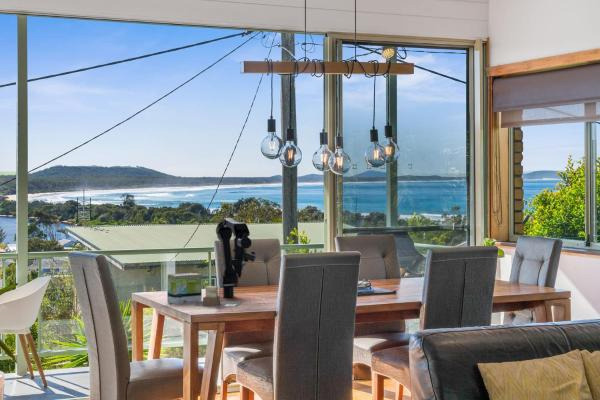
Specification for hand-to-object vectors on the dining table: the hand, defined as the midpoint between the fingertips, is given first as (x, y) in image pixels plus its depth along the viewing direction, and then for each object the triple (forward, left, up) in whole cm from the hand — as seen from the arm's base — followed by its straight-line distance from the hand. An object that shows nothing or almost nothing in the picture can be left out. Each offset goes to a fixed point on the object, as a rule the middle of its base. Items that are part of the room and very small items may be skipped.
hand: (239, 277), depth 432 cm
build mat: (+8, -9, -13) cm, 18 cm away
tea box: (+1, -29, -13) cm, 32 cm away
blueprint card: (+12, -2, -12) cm, 17 cm away
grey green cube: (+11, -12, -8) cm, 18 cm away
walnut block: (+11, -12, -12) cm, 20 cm away
